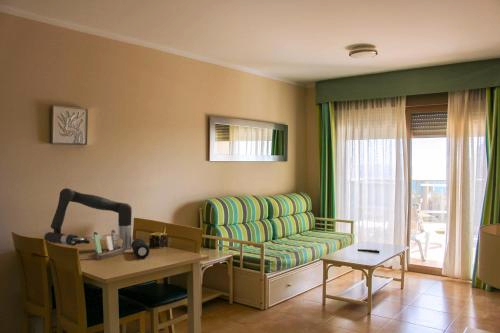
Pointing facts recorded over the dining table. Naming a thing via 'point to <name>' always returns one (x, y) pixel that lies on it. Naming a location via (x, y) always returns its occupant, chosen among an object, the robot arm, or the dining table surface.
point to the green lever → (97, 242)
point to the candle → (158, 239)
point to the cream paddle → (109, 242)
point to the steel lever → (114, 239)
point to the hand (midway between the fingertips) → (88, 242)
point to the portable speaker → (140, 248)
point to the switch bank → (107, 253)
